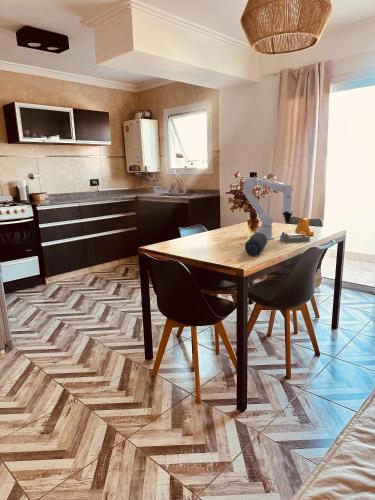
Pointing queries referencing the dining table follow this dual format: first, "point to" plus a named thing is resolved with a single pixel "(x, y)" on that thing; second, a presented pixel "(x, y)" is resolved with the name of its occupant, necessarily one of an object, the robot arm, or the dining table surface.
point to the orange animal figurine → (304, 227)
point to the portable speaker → (256, 244)
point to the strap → (293, 235)
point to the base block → (294, 238)
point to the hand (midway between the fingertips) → (287, 222)
